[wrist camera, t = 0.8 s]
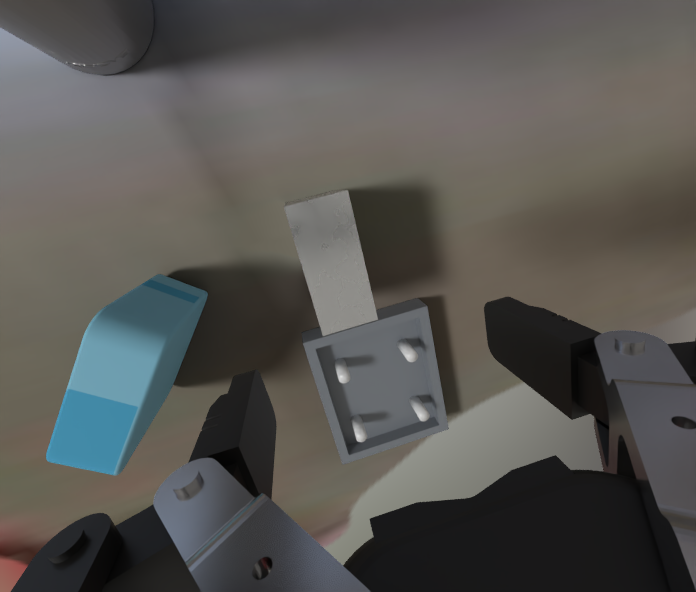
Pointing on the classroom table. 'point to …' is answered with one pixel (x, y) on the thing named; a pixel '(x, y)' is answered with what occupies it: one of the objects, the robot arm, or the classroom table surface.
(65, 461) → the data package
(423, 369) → the tray
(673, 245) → the classroom table surface
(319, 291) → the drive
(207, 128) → the classroom table surface
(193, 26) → the classroom table surface
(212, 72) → the classroom table surface
